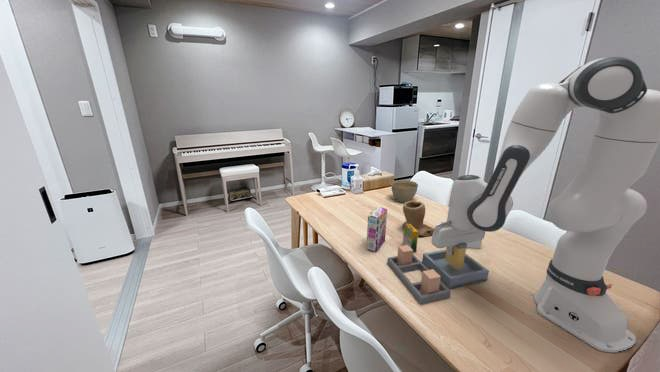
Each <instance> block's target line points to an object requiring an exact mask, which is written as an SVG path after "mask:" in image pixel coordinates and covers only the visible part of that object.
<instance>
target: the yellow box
mask: <svg viewBox="0 0 660 372" xmlns="http://www.w3.org/2000/svg"><path fill="white" fill-rule="evenodd" d="M451 249H452V250H454V255H449V254H448V253H447V251H448V249H447V248H446V249H445V250H446V256H445V260H446V261H447V262H448V263H449V264H450V265H451V266H453V267H454V268H455V269H460V268H463V264H464V258H465V253H466V251H467V244H466V243H459V244H457V245H455V246H453V248H451Z"/></svg>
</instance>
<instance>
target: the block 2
mask: <svg viewBox="0 0 660 372" xmlns="http://www.w3.org/2000/svg"><path fill="white" fill-rule="evenodd" d="M440 278H441V276H440V275H439V274H438V273H437V272H435V271H434V270H433V269H431V270H427V271H423V272H422V271H421V281H420V282H421V289H420V290H419V292H420V293H421V295H427V294H431V293H435V292H439V291H440V290H439V285H440V281H441V280H440Z"/></svg>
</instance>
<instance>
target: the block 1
mask: <svg viewBox="0 0 660 372" xmlns="http://www.w3.org/2000/svg"><path fill="white" fill-rule="evenodd" d="M397 249H398V250H397V256H398V258H397V263H396V265H397V266H401V265H406V264H412V263H413V262H412V258H413V255H414V252H413V250H412V249H411V248H410V247H409V246H408V245H399V246H397Z"/></svg>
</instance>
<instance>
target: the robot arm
mask: <svg viewBox="0 0 660 372" xmlns="http://www.w3.org/2000/svg"><path fill="white" fill-rule="evenodd" d="M580 107H584V108H590V109H594V110H597V111H598V113H599V121H598V122H599V123H598V125H597V128H596V130H595V132H594V134H593V138H592V140H591V143H590V146H589V148H588V151H587V153H586V156H585V158H584V161H583V163H582V165H580V166H581V167H580V168H579V169H578V171H577V172H576V174H575V175H574V176H573V178H572V179H571V181H570V182H569V183H568V185H567V186H566V187H565V188H564V189H563V190H562V192H561V193H560V194H558V195H557V196H556V197H554V198H553V199H551V201H550V202H549V203H548V206H547V216H548V218H549V221H550V222H551V223H552V224H553V225H554V226H555V227H557V229H560V230H562V231H566V232H565V233H563V234H561V236H560V237H559V239H558V240H557V242H556V246H555V250H554V252H553V253H554V254H553V256H552V259H550V261H549V262H548V266H547V270H546V276H545V278H544V280H543V283H542V284H541V286H540V287H539V289H538V290H537V291H536V293H535V294H534V296H533V298H534V301H535V303H536V305H537V307H536V311H537V313H538V314H539V315H541V316H543V318H546V319H547V320H549V321H550V322H551V323H554V324H555V325H557V326H559V327H560V328H561V329H563V330H565V331H567V332H568V333H570V334H572V335H573V336H575V337H576V338H578V339H580V340H581V341H583V342H585V343H586V344H588V345H590V346H591V347H593V348H594V349H596V350H598V351H600V352H605V353H619V352H618V351H622V350H625V351H627V350H626V349H628V348H630V347H632V346H633V345H634V344H636V341H637V337H636V335H635V334H634V333H633V332H631V331H630V330H629V329H627V327H628V318H627V315H626V314H625V313H624V312H623V310H621V308H620V307H619V306H618V305H617V304H616V302H615V301H614V300H613V299H612V297H610V295H609V294H608V293H607V290H609V289H611V288H612V286H613V284H612V283H610V284H606V282H605V280H604V276H603V275H604V272H605V270H606V269H607V268H606V267H607V265H608V262H609V260H610V258H611V256H612V255H613V252H614V251H615V250H616V248H617V247H618V245H619V244H620V243H621V241H622V240H623V239H624V238H625V236H626V235H627V233H628V231H629V230H630V229H631V227H632V226H634V225H635V223H636V222H638V220H639V219H640V218H642V217H643V216H644V215H645V214H646V211H647V209H648V203H647V201H646V199H645V197H644V196H643V195H642V194H641V193H640V192H638V191H636V190H634V189H633V188H632V189H631V188H630V187H631V186H633V184H634V183H635V182H637V180H639V179H641V177H642V176H643V175H645V174H646V172H647V170H648V168H649V165H650V163H651V161H652V159H653V157H654V154H655V153H656V151H657V148H658V146H659V144H660V90H655V89H650V88H649V89H648V88H647V85H646V82H645V79H644V76H643V72H642V70H641V68H640V66H639V65H638V64H637V63H636V62H635V61H633V60H631V59H629V58H627V57H624V56H623V57H622V56H609V57H602V58H597V59H595V60H591V61H588V62H587V63H585V64H582V65H581V66H579V67H577V69H575V70H574V71H572V72H571V73H570V74H568V75H567V76H566V77H565V78H564V79H562V80H561V81H559V82H558V83H557V82H543V83H542V82H541V83H539V84H535V85H534V86H532V87H531V88H530V89H529V90H528V91H527V92H526V94H525V95H524V97H523V98H522V100H521V102H520V103H519V104H518V106H517V108H516V110H515V112H514V113H513V116H512V118H511V120H510V122H509V125H508V127H507V130H506V132H505V135H504V139H503V142H502V146H501V150H500V154H499V157H498V160H497V164H496V167H495V169H494V171H493V173H492V174H491V176H490V178H489V180H488V182H485V181H484V180H483V179H482V178H481V177H480V176H479V175H474V174H465V175H461V176H458V177H456V178H455V179H454V181H453V184H452V187H451V191H450V197H449V200H450V204H449V205H450V206H449V207H448V210H447V217H446V221H444V222H438V224H436V225H435V226H434V232H433V234H432V235H431V240H430V241H431V244H432V245H433V246H434V247H435V248H436V249H443V248H446V249H448V251H447V253H448V254H449V255H454V250H452V249H451V248H453V246H455V245H457V244H459V243H466V244H467V246H468V243H471V242H476V241H481V240H482V241H483V240H484V238H485V237H486V236H485V235H486V233H487V232H488V233H489V232H496V231H499V230H500V229H502V228H503V227H504V226H505V223H506V219H507V217H508V215H509V214H510V212H511V211H512V209H513V206H514V201H513V198H512V196H511V195H512V193H513V190H514V189H515V187H516V186H517V183H518V182H519V180H520V178H521V176H522V175H523V174H524V172H526V170H527V169H528V168H529V167H530V166H531V165H532V163H534V161H536V160H537V159H538V158H539V157H540V156H541V154H542V153H543V152H544V151H545V150H546V149H547V147H548V146H549V145H550V144H551V142H552V140H553V139H554V137H555V136H556V134H557V132H558V130H559V128H560V126H561V124H562V122H563V121H564V119H565V118H566V117H567V116H568V114H570V113H571V112H572V111H573V110H575V109H577V108H580ZM629 339H630V340H629ZM634 346H635V345H634ZM634 346H633V347H634ZM633 347H632V348H633ZM630 349H631V348H630ZM628 350H629V349H628ZM622 352H623V351H622Z"/></svg>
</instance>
